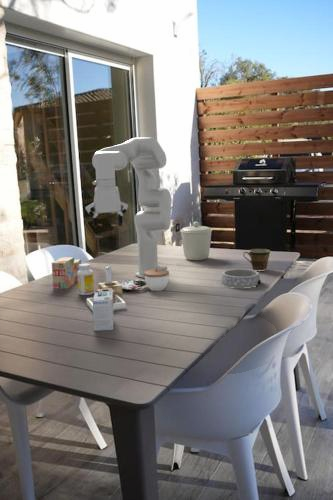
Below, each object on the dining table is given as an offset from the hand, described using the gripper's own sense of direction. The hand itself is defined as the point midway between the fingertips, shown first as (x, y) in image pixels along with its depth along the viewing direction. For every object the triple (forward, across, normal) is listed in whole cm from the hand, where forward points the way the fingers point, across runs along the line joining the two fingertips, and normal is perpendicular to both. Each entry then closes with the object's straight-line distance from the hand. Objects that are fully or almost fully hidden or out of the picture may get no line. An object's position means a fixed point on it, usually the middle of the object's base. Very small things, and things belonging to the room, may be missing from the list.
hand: (108, 226), depth 205 cm
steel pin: (+29, 0, +2) cm, 29 cm away
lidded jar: (+30, +22, +6) cm, 38 cm away
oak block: (+30, 0, +2) cm, 30 cm away
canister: (+31, +64, +58) cm, 92 cm away
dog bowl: (+31, +59, -2) cm, 67 cm away
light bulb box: (+30, -11, -32) cm, 46 cm away
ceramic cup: (+31, +78, +17) cm, 86 cm away
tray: (+30, -5, -10) cm, 32 cm away
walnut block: (+30, -5, -10) cm, 32 cm away
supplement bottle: (+30, -8, +13) cm, 34 cm away
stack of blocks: (+31, -12, +36) cm, 49 cm away
